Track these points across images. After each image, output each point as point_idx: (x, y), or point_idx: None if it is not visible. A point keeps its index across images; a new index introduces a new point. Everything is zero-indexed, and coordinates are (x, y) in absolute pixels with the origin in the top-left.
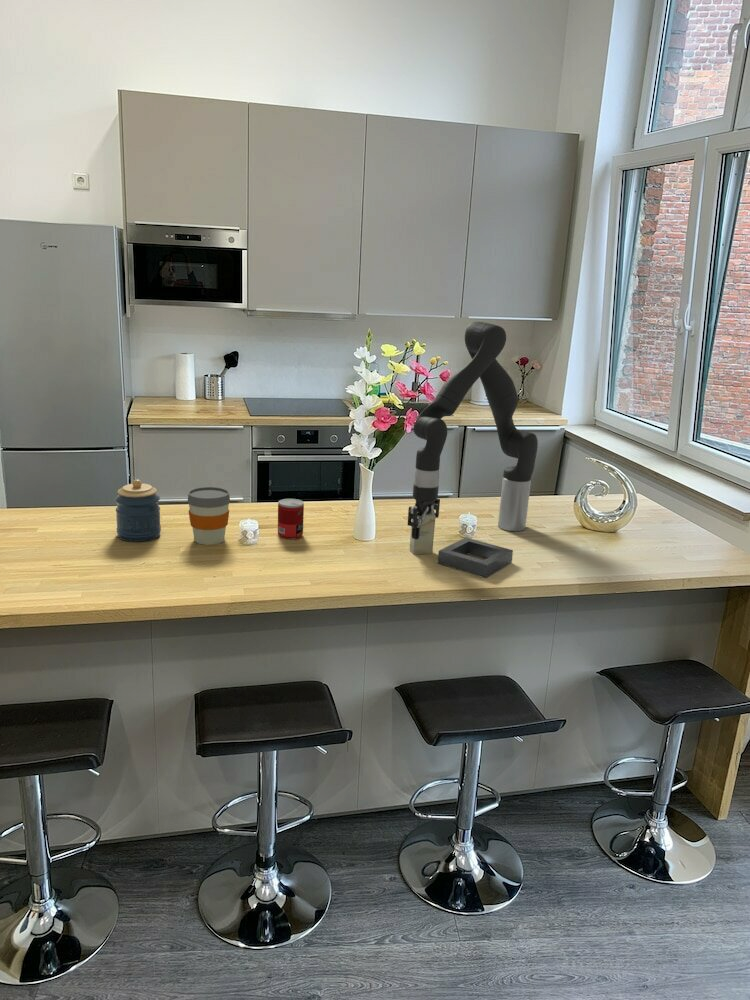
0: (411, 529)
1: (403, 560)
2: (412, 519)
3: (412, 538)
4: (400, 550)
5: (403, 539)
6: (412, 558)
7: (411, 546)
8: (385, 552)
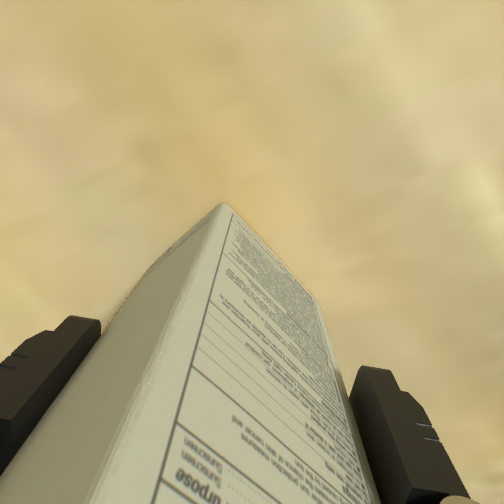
0: (175, 283)
1: (4, 249)
2: (115, 395)
3: (154, 280)
4: (164, 143)
5: (448, 37)
6: (81, 285)
7: (181, 242)
8: (36, 48)
